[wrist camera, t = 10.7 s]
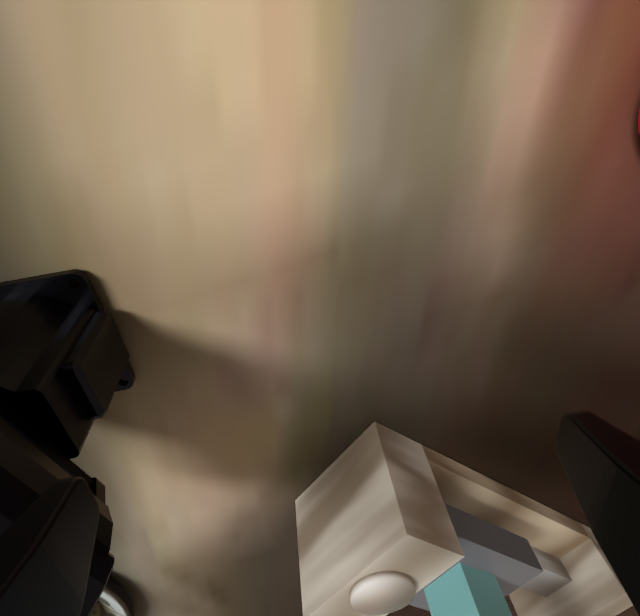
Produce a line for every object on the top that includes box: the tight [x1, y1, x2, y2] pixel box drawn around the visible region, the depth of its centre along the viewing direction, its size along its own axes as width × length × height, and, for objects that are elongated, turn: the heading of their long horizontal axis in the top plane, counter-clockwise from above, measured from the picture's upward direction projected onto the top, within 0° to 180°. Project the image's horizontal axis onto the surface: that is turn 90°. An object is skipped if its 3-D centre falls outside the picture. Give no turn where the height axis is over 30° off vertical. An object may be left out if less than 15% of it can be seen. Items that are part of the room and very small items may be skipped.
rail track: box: [295, 421, 633, 616], centre depth 29 cm, size 22×8×7 cm, turn 54°
